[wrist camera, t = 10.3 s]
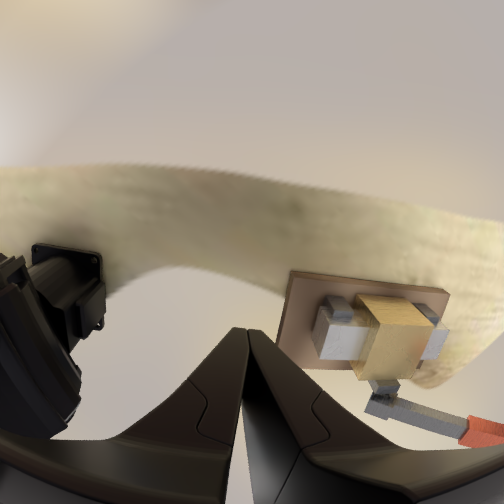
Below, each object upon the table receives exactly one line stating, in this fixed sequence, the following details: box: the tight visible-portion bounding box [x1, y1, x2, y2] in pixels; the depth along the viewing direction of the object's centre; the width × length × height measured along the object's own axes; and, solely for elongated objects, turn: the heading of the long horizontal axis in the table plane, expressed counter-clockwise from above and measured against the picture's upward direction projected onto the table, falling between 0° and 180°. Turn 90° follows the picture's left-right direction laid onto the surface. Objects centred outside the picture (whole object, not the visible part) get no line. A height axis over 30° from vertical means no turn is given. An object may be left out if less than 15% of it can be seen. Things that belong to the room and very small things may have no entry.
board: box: [275, 271, 450, 370], centre depth 24 cm, size 14×8×1 cm, turn 81°
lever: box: [364, 391, 504, 448], centre depth 16 cm, size 2×2×12 cm
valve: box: [311, 294, 450, 394], centre depth 20 cm, size 10×5×5 cm, turn 81°
